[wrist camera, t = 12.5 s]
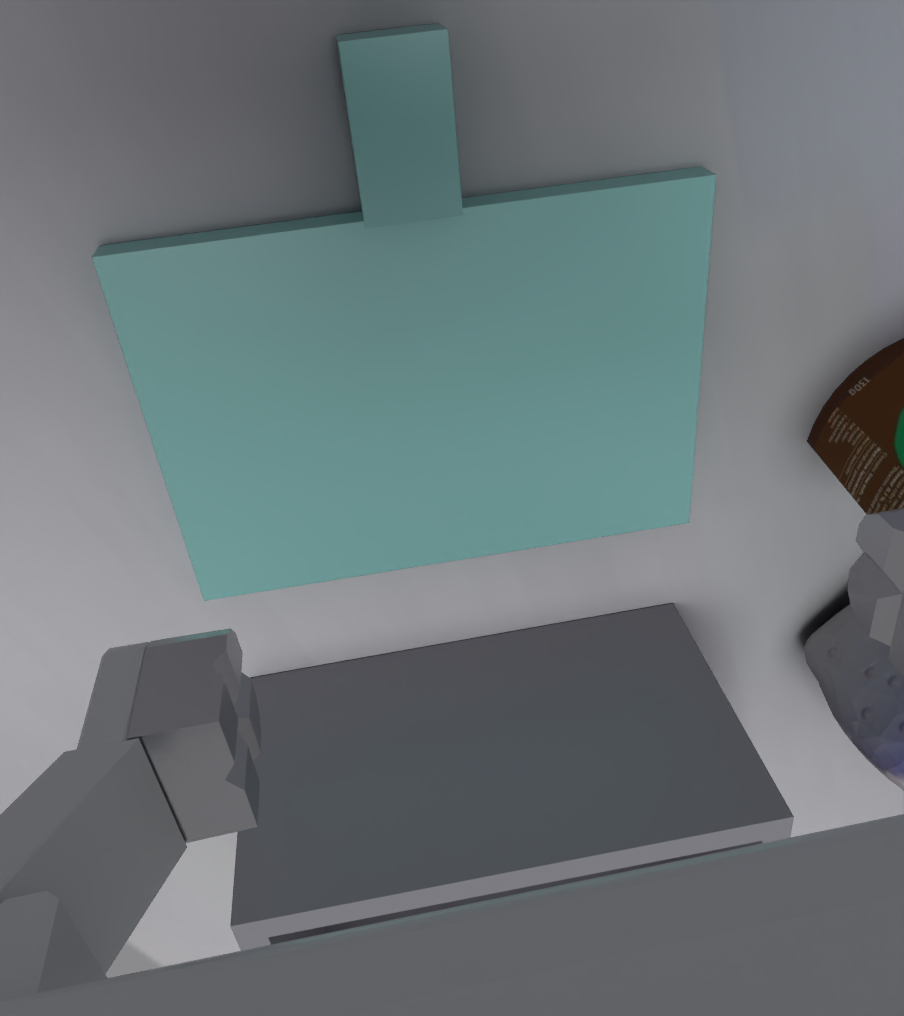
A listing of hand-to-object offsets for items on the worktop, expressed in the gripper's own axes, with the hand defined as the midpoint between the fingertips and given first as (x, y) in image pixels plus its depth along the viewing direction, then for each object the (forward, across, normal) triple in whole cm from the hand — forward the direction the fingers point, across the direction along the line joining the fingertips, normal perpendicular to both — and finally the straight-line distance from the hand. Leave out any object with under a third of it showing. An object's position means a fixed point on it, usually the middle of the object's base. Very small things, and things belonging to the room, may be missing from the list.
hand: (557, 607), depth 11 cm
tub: (+20, 0, +25) cm, 32 cm away
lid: (+20, 0, +4) cm, 21 cm away
